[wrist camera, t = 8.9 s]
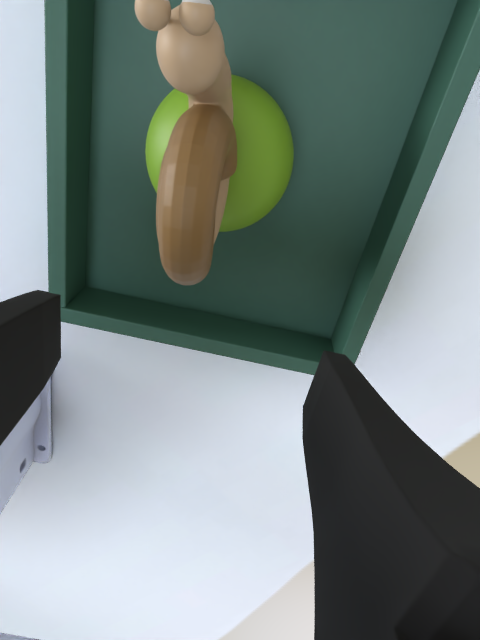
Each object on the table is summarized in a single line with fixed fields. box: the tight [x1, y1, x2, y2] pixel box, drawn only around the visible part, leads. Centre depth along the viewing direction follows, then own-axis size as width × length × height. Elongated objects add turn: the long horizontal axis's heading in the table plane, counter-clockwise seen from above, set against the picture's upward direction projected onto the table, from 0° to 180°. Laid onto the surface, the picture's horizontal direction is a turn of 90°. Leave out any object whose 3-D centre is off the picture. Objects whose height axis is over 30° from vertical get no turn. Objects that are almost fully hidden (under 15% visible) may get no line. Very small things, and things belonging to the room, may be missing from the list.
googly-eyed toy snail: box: [135, 0, 294, 285], centre depth 13 cm, size 5×6×12 cm
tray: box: [44, 0, 480, 375], centre depth 18 cm, size 18×15×3 cm
